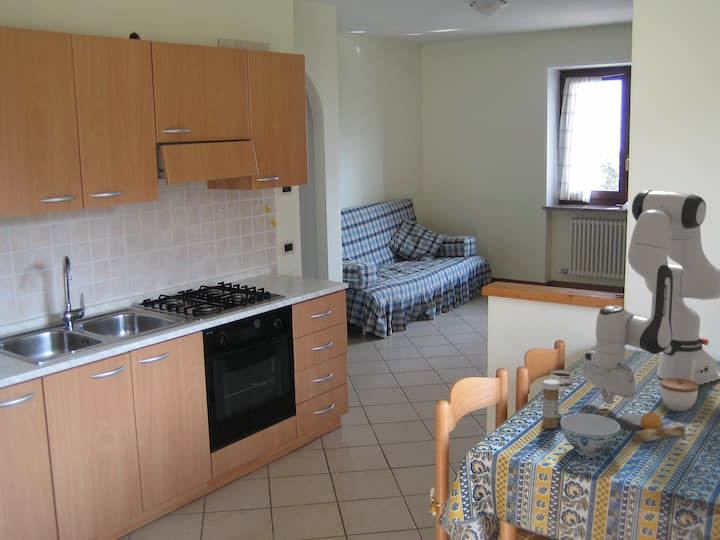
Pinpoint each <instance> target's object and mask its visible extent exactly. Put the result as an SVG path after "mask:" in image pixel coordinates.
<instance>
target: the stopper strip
mask: <svg viewBox="0 0 720 540" xmlns="http://www.w3.org/2000/svg"><path fill="white" fill-rule="evenodd" d="M685 434H686V425H685V424H682V423H680V422H679V423H675V424H669V425H663V427H657V428H651V429H646V430H640V431H634V432H633V441H634V442H636V443H639V444H641V443H646V442H651V441H657V440H662V439H668V438H673V437H677V436H678V437H679V436H683V435H685Z"/></svg>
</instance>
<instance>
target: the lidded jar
mask: <svg viewBox="0 0 720 540" xmlns="http://www.w3.org/2000/svg"><path fill="white" fill-rule="evenodd" d="M699 387H700V385H698V384H697V383H696V382H693V381H691V380H687V379H682V378H667V379H661V380H660V396H661V400H662V401H663V403H664V404H665V405H666V406H667V408H668V409H669V408H670V409H669V410H673V411H676V412H686V411H689V409H690V408H692V406H694V404H695V403H696V400H697V399H698V394H699Z"/></svg>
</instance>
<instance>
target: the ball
mask: <svg viewBox="0 0 720 540" xmlns="http://www.w3.org/2000/svg"><path fill="white" fill-rule="evenodd" d="M661 424H663V422H662V418H661V417H660V415H658V414H657V413H655V412H652V411H650V412H645V413H644V414H643V415H642V418H641V425H642V427H643V428H644V429H645V430H646V429H651V428H657V427H661Z"/></svg>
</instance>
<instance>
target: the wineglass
mask: <svg viewBox="0 0 720 540" xmlns="http://www.w3.org/2000/svg"><path fill="white" fill-rule="evenodd" d="M573 376H574V373H573V372H572V371H569V370H564V369H556V370H551V371H550V378H549V379H551V380H557V381H559V384H560V385H559V407H558V415H567V414H569V410H567V409H566V408H562V400H563V392H564V391H566V390H568V389H569V388H570V387H571V386H572V385H573V383H574V378H573Z"/></svg>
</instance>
